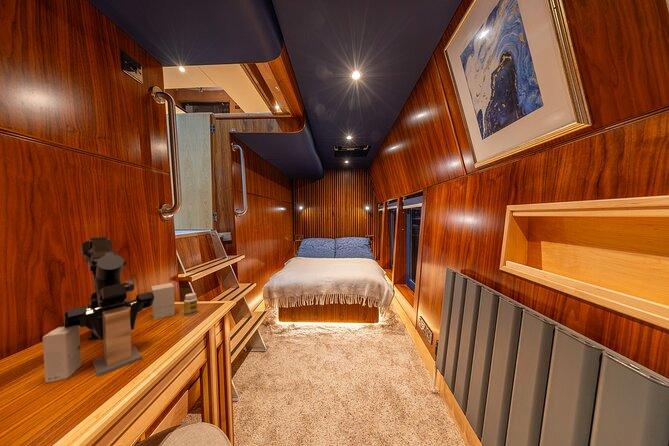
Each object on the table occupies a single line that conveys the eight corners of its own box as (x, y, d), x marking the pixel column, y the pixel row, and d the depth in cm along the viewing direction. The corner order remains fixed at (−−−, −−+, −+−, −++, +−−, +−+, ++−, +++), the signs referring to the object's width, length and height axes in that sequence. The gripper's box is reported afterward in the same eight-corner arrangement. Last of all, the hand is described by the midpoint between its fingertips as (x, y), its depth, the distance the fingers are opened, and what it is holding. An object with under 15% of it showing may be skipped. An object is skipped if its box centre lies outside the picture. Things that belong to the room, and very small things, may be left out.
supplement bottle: (190, 316, 92) (190, 296, 92) (181, 315, 93) (181, 296, 93) (200, 311, 97) (199, 293, 97) (191, 310, 98) (190, 292, 98)
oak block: (104, 359, 64) (102, 311, 63) (127, 350, 68) (125, 306, 67) (107, 366, 61) (105, 316, 60) (131, 356, 65) (129, 310, 64)
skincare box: (68, 378, 57) (66, 333, 57) (43, 384, 55) (41, 337, 55) (82, 364, 63) (81, 322, 62) (60, 369, 61) (58, 326, 60)
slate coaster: (93, 363, 63) (93, 360, 63) (134, 348, 70) (134, 345, 70) (97, 376, 58) (97, 373, 58) (142, 358, 65) (141, 356, 65)
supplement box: (173, 309, 99) (172, 282, 99) (175, 315, 94) (174, 286, 93) (151, 314, 94) (150, 285, 94) (152, 320, 89) (151, 290, 88)
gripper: (62, 280, 58) (66, 335, 52) (151, 267, 73) (163, 308, 67) (62, 303, 63) (66, 355, 57) (146, 286, 78) (156, 326, 72)
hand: (117, 333), depth 63 cm, fingers open, 6 cm apart
